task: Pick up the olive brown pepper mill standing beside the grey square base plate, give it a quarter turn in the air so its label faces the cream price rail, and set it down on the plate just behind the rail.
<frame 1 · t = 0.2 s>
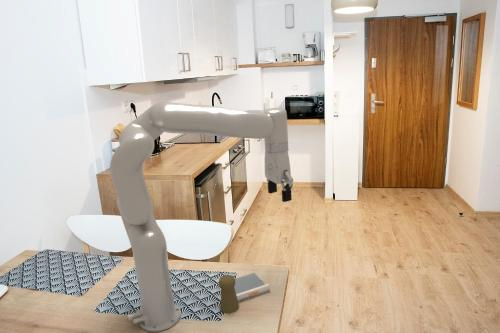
hand: (279, 196, 132), 31 cm above the table, fingers open, 9 cm apart
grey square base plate: (246, 288, 136), on the table
olive brown pepper mill: (229, 308, 126), on the table
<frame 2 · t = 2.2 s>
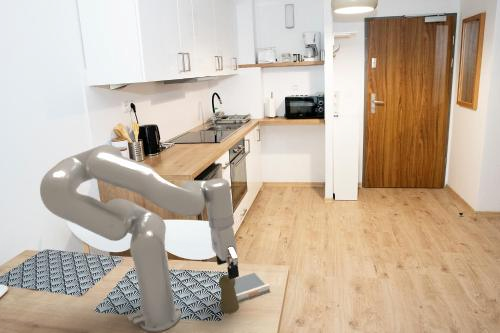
hand: (227, 270, 123), 13 cm above the table, fingers open, 9 cm apart
nothing on the table moved.
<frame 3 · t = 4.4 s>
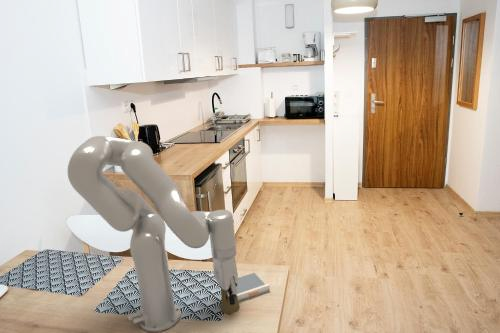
hand: (229, 301, 126), 2 cm above the table, fingers closed on olive brown pepper mill, 3 cm apart
olive brown pepper mill: (230, 308, 126), on the table, touching gripper
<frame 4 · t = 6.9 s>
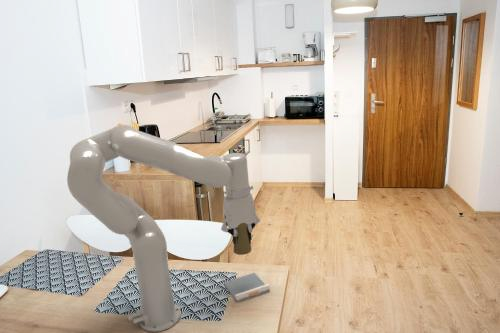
hand: (242, 243, 131), 17 cm above the table, fingers closed on olive brown pepper mill, 3 cm apart
olive brown pepper mill: (242, 250, 131), point 15 cm above the table, touching gripper
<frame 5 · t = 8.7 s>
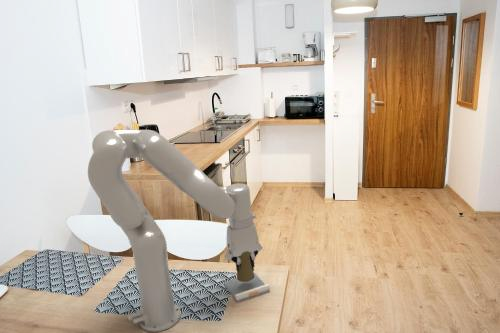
hand: (245, 270, 134), 7 cm above the table, fingers closed on olive brown pepper mill, 3 cm apart
olive brown pepper mill: (245, 277, 134), point 5 cm above the table, touching gripper
when the fingers open (5 cm above the table, at t = 9.9 s): olive brown pepper mill drops 1 cm, resting on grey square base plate.
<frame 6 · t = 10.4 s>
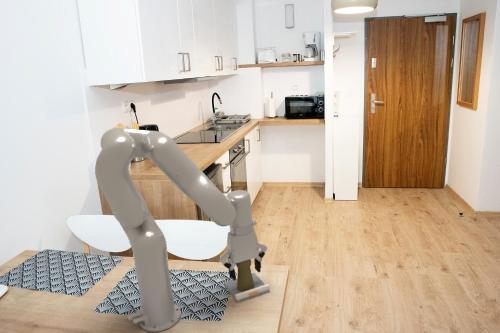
hand: (245, 274, 134), 6 cm above the table, fingers open, 8 cm apart
olive brown pepper mill: (245, 287, 135), point 1 cm above the table, touching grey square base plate
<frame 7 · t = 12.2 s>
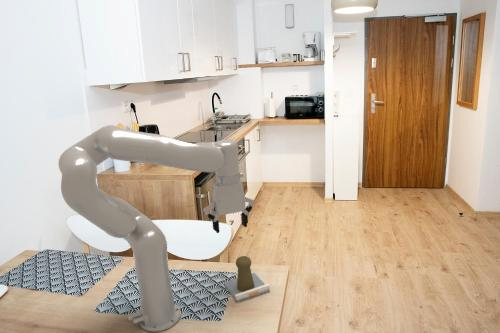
hand: (230, 228, 130), 23 cm above the table, fingers open, 9 cm apart
nothing on the table moved.
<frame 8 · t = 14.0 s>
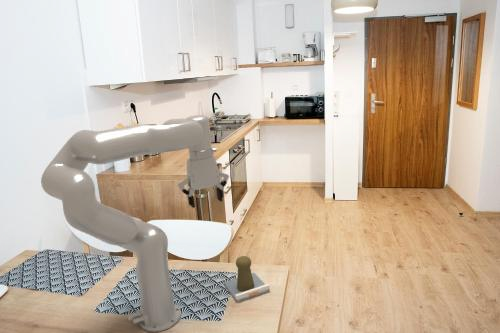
hand: (206, 203, 133), 30 cm above the table, fingers open, 9 cm apart
nothing on the table moved.
at the end: olive brown pepper mill inside the target area (0.5 cm from its centre), point 0.8 cm above the table; olive brown pepper mill tilted 0°; the gripper is holding nothing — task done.
